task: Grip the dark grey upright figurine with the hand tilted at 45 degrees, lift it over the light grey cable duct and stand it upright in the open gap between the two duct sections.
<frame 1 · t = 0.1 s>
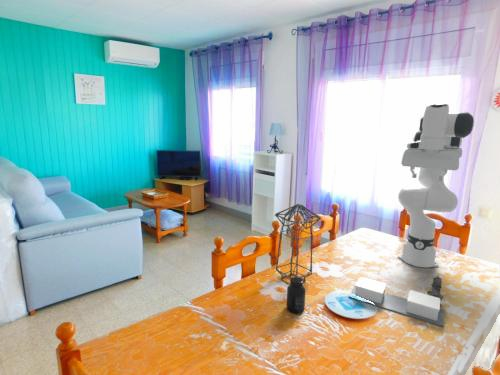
hand: (427, 179, 128), 48 cm above the table, tool pointing down, fingers open, 8 cm apart
geometric lantern: (294, 279, 141), on the table
dark grey upright figurine: (433, 303, 125), on the table
supplement bottle: (295, 309, 118), on the table
cable duct: (394, 303, 124), on the table
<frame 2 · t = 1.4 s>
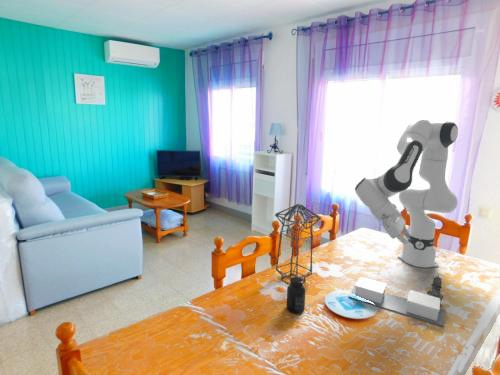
hand: (407, 240, 127), 24 cm above the table, tool tilted 45°, fingers open, 8 cm apart
nothing on the table moved.
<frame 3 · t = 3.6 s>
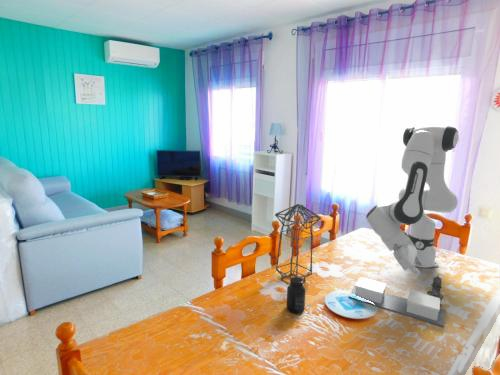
hand: (419, 269, 126), 12 cm above the table, tool tilted 45°, fingers open, 8 cm apart
nothing on the table moved.
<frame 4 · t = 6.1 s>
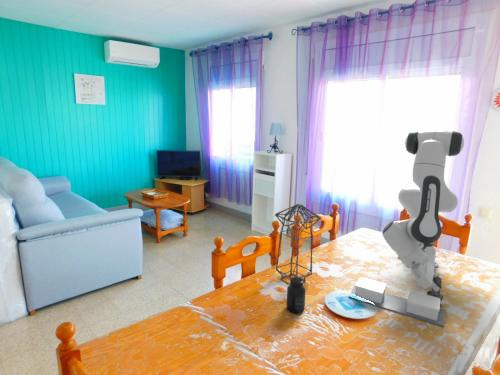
hand: (438, 287, 124), 7 cm above the table, tool tilted 45°, fingers closed on dark grey upright figurine, 3 cm apart
dark grey upright figurine: (433, 303, 125), on the table, touching gripper
everything else where it was.
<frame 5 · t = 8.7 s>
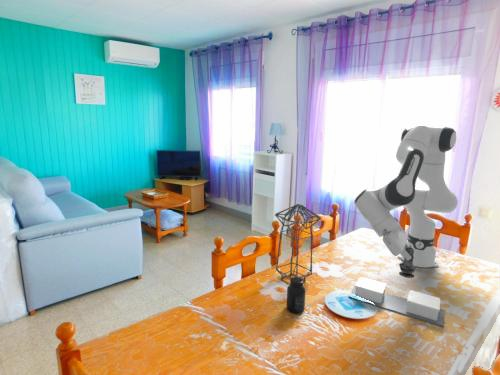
hand: (410, 256, 119), 20 cm above the table, tool tilted 45°, fingers closed on dark grey upright figurine, 3 cm apart
dark grey upright figurine: (406, 275, 121), point 13 cm above the table, touching gripper
everything else where it was.
when the fingers open (9 cm above the table, at t = 11.8 s): dark grey upright figurine stays where it is, resting on cable duct.
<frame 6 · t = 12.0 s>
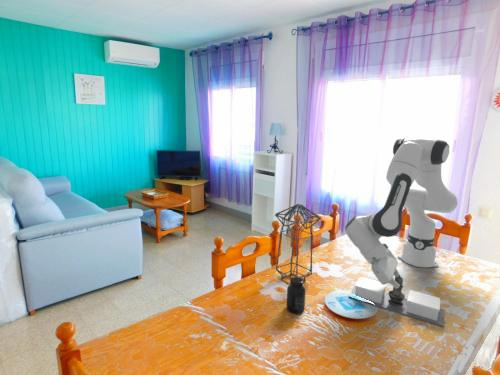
hand: (399, 283, 122), 9 cm above the table, tool tilted 45°, fingers open, 5 cm apart
dark grey upright figurine: (395, 303, 124), resting on cable duct
everything else where it was.
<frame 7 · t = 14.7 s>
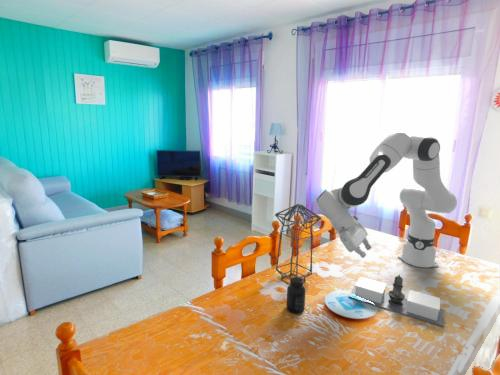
hand: (367, 252, 126), 18 cm above the table, tool tilted 45°, fingers open, 8 cm apart
nothing on the table moved.
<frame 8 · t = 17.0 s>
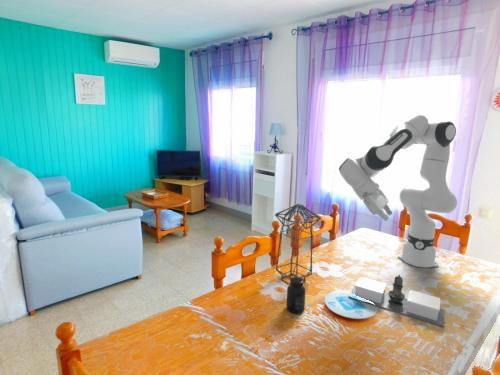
hand: (389, 217, 131), 31 cm above the table, tool tilted 45°, fingers open, 8 cm apart
nothing on the table moved.
at the end: dark grey upright figurine 0.2 cm off-centre on the cable duct, point 0.3 cm above the cable duct's base; dark grey upright figurine tilted 0°; the gripper is holding nothing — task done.
